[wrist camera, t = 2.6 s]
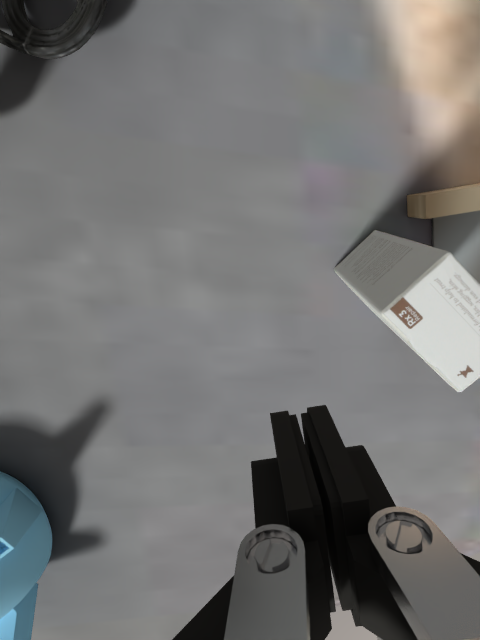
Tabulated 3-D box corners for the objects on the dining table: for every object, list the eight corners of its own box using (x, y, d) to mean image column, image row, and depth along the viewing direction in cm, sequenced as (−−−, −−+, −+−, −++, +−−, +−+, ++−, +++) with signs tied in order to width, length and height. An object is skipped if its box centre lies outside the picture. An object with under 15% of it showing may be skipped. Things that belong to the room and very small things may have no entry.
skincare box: (426, 282, 30) (541, 335, 19) (380, 324, 31) (463, 399, 20) (371, 225, 29) (459, 243, 17) (326, 270, 30) (380, 316, 18)
